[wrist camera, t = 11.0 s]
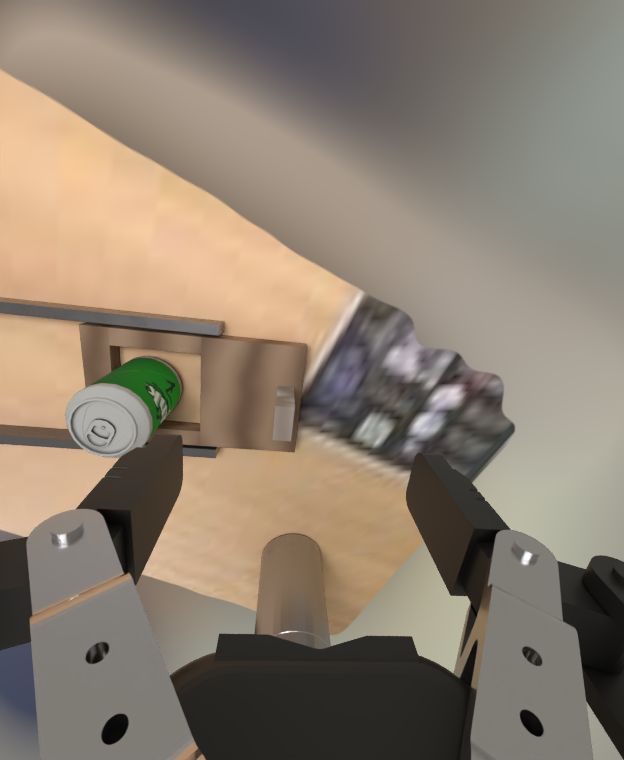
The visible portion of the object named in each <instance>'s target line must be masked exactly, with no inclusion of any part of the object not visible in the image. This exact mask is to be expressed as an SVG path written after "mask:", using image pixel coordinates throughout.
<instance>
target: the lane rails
mask: <svg viewBox="0 0 624 760" xmlns="http://www.w3.org/2000/svg"><path fill="white" fill-rule="evenodd" d="M0 313H5V314H15V315H25V316H34V317H44V318H53V319H63V320H73V321H82V322H92V323H102V324H111V325H121V326H131V327H140V328H150V329H160V330H169V331H179V332H189V333H198V334H208V335H218V336H220V335H221V333H222V332H223V327H224V322H223V321H214V320H205V319H196V318H186V317H177V316H168V315H159V314H149V313H140V312H131V311H122V310H112V309H103V308H94V307H85V306H75V305H66V304H57V303H47V302H38V301H29V300H20V299H10V298H1V297H0ZM148 443H149V442H146V443H145V444H144V445H143V447H142V448H145V447H146V445H147V444H148ZM0 444H11V445H26V446H41V447H56V448H71V449H83V448H82V447H80V446H79V445H78V444H77V443H76V442H75V441H74V439H73V438H72V436H71V434H70V432H69V430H68V429H54V428H40V427H26V426H12V425H0ZM218 451H219V447H212V446H197V445H183V456H191V457H207V458H216V456H217V453H218Z"/></svg>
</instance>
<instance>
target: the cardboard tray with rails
mask: <svg viewBox="0 0 624 760" xmlns="http://www.w3.org/2000/svg"><path fill="white" fill-rule="evenodd" d="M79 330H80V340H81V349H82V358H83V367H84V376H85V386H86V387H88V386H89V385H91V384H92V383H94V382H96V381H97V380H99V379H101V378H102V377H104V376H105V375H107V374H109V373H110V372H112V371H114V370H115V369H117V368H119V367H120V362H119V348H118V346H122V347H132V348H143V349H153V350H163V351H173V352H184V353H194V354H201V407H200V424H194V423H181V422H168V421H163V422H162V423H161V424H160V426H159V427H158V428H157V429H156V431H155V432H154V433H153V435H152V436H151V437H150V438H149V440H148V441H147V442H150V440H151V439H152V438H153V437H154V435H155V434H156V433H163V434H177V435H181V436H182V440H183V445H197V446H212V447H226V448H240V449H254V450H269V451H283V452H295V444H296V436H297V428H298V419H299V411H300V402H301V394H302V386H303V377H304V369H305V360H306V352H307V346H306V344H302V343H292V342H282V341H273V340H263V339H253V338H244V337H234V336H224V335H220V336H218V335H208V334H198V333H189V332H179V331H169V330H160V329H150V328H140V327H131V326H121V325H111V324H102V323H92V322H86V323H82V324H79Z"/></svg>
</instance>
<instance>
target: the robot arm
mask: <svg viewBox="0 0 624 760" xmlns="http://www.w3.org/2000/svg"><path fill="white" fill-rule="evenodd" d="M182 480H183V440H182V436H181V435H177V434H163V433H156V434H155V435H154V437H153V438H152V439H151V440H150V442H149V443H148V444H147V445H146V447H145V448H141V447H136V448H134V449H133V450H131V451H129V452H127V453H126V454H124V455H122V456H121V457H120V459H119V460H118V461H117V462H116V463H115V464H114V465H113V468H112V469H110V470H109V471H108V472H107V474H106V475H105V477H104V478H102V479H101V480H100V482H99V483H98V484H97V485H96V486H95V487H94V489H93V490H92V491H91V492H90V493H89V494H88V495H87V497H86V498H85V499H84V500H83V501H82V502H81V504H80V505H79V506H78V507H77V508H76V509H75V510H69V511H66V512H62V513H60V514H57V515H55V516H52V517H50V518H49V519H47V520H45V521H44V522H42V523H41V524H39V525H38V526H37V527H36V528H35V529H34V530H33V531H32V532H31V533H30V535H29V537H24V538H19V539H13V540H8V541H3V542H0V650H3V649H7V648H10V647H14V646H17V645H21V644H25V643H28V642H31V645H32V658H33V671H34V684H35V696H36V707H37V708H36V709H37V722H38V734H39V746H40V759H41V760H593V753H592V745H591V737H590V728H589V722H588V712H587V705H586V701H587V703H588V704H589V706H590V707H591V709H592V711H593V712H594V714H595V715H596V717H597V718H598V720H599V722H600V723H601V725H602V726H603V727H604V730H605V731H606V733H607V734H608V736H609V737H610V739H611V741H612V742H613V744H614V745H615V747H616V748H617V750H618V752H619V753H620V755H621V756H622V758H623V759H624V562H622V561H620V560H618V559H615V558H612V557H608V556H595V557H593V558H592V559H591V561H590V563H589V565H588V567H587V569H583V568H579V567H576V566H572V565H569V564H565V563H562V562H559V561H557V560H556V558H555V557H554V555H553V554H552V553H551V551H550V550H549V549H548V548H546V547H545V546H544V545H543V544H542V543H540V542H539V541H537V540H536V539H534V538H532V537H530V536H528V535H526V534H524V533H521V532H518V531H514V530H510V528H509V527H508V526H507V525H506V524H505V522H504V521H503V520H502V519H501V518H500V516H499V515H498V514H497V513H496V512H495V510H494V509H493V508H492V507H491V506H490V504H489V503H488V502H487V501H485V498H484V497H483V496H482V495H481V493H480V492H477V489H476V487H475V486H474V485H473V484H472V483H471V481H470V480H469V479H468V478H466V477H465V476H464V475H462V474H461V473H459V472H458V471H457V470H455V469H452V468H451V466H450V465H449V464H448V463H447V461H446V460H445V459H444V458H443V456H442V455H440V454H430V453H418V454H417V455H416V456H415V459H414V463H413V467H412V471H411V475H410V479H409V482H408V486H407V491H406V501H407V506H408V509H409V511H410V513H411V515H412V517H413V519H414V521H415V523H416V525H417V527H418V529H419V531H420V534H421V536H422V538H423V540H424V542H425V544H426V546H427V548H428V550H429V552H430V554H431V556H432V558H433V560H434V562H435V564H436V566H437V568H438V571H439V573H440V574H441V577H442V578H443V581H444V582H445V585H446V587H447V589H448V591H449V593H450V595H451V596H468V598H469V600H470V605H469V608H468V610H467V615H466V619H465V624H464V628H463V633H462V638H461V642H460V647H459V652H458V656H457V661H456V665H455V670H454V673H452V672H450V671H449V670H447V669H446V668H444V667H442V666H441V665H439V664H437V663H435V662H433V661H431V660H429V659H426V658H424V657H422V656H418V654H417V651H416V648H415V645H414V642H413V639H412V637H410V636H409V637H408V636H407V637H405V636H365V637H361V638H358V639H354V640H351V641H348V642H344V643H341V644H338V645H334V646H331V645H330V637H329V627H328V618H327V608H326V599H325V590H324V581H323V570H322V561H321V553H320V549H319V547H318V545H317V544H316V543H315V542H314V541H313V540H311V539H310V538H308V537H306V536H303V535H298V534H288V535H283V536H279V537H277V538H275V539H273V540H272V541H271V542H269V543H268V544H267V546H266V547H265V549H264V550H263V553H262V560H261V571H260V580H259V591H258V602H257V613H256V624H255V634H219V638H218V644H217V649H216V653H212V654H209V655H206V656H203V657H201V658H199V659H196V660H194V661H192V662H190V663H188V664H187V665H185V666H183V667H181V668H180V669H178V670H177V671H175V672H174V673H173V674H171V675H170V676H169V674H168V671H167V669H166V666H165V663H164V660H163V658H162V655H161V653H160V650H159V647H158V645H157V642H156V639H155V637H154V634H153V631H152V629H151V626H150V624H149V621H148V618H147V616H146V613H145V610H144V608H143V605H142V602H141V600H140V597H139V595H138V592H137V590H136V587H135V586H136V584H137V582H138V580H139V578H140V576H141V574H142V572H143V570H144V567H145V565H146V563H147V561H148V559H149V557H150V555H151V553H152V551H153V548H154V546H155V544H156V542H157V540H158V538H159V536H160V534H161V532H162V529H163V527H164V525H165V523H166V521H167V519H168V517H169V515H170V513H171V511H172V508H173V506H174V504H175V502H176V500H177V498H178V496H179V493H180V490H181V486H182Z"/></svg>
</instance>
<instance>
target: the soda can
mask: <svg viewBox="0 0 624 760" xmlns="http://www.w3.org/2000/svg"><path fill="white" fill-rule="evenodd" d="M181 394H182V384H181V381H180V378H179V376H178V374H177V373H176V371H175V370H174V369H173V367H171V366H170V365H169V364H167V363H166V362H165V361H162V360H160V359H157V358H155V357H146V356H143V357H138V358H133V359H132V360H130V361H128V362H127V363H125V364H123V365H122V366H120V367H119V368H117V369H115V370H114V371H112V372H110V373H109V374H107V375H105V376H104V377H102V378H101V379H99V380H97V381H96V382H94V383H92V384H91V385H89V386H88V387H86V388H84V389H83V390H81V391H79V392H78V393H76V394H75V395H74V396H73V398H72V399H71V400H70V402H69V403H68V406H67V409H66V413H65V416H66V424H67V427H68V429H69V432H70V434H71V436H72V438H73V439H74V441H75V442H76V443H77V444H78V445H79V446H80V447H82V448H83V449H85V450H86V451H88V452H90V453H93V454H96V455H99V456H103V457H111V458H120V457H121V456H122V455H124V454H126V453H127V452H129V451H131V450H133V449H134V448H136V447H141V448H142V447H143V445H144V444H145V443H146V442H147V441H148V440H149V438H150V437H151V436H152V435H153V433H154V432H155V431H156V429H157V428H158V427H159V426H160V424H161V423H162V422H163V421H164V419H165V418H166V417H167V416H168V414H169V413H170V412H171V411H172V409H173V408H174V407H175V406H176V404H177V403H178V402H179V399H180V397H181Z"/></svg>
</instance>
